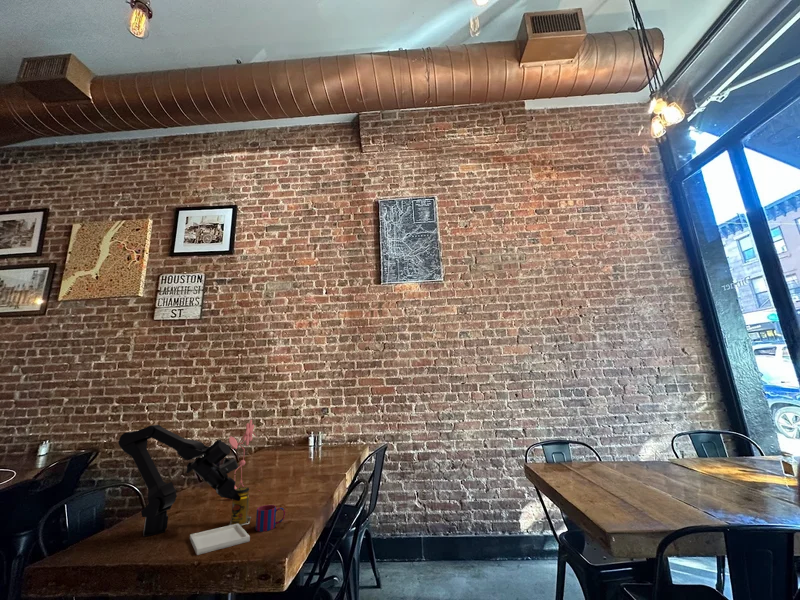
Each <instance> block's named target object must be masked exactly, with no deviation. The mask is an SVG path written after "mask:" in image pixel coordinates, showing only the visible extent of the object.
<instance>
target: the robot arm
mask: <svg viewBox="0 0 800 600" xmlns="http://www.w3.org/2000/svg"><path fill="white" fill-rule="evenodd" d="M150 439H153V440H156V441H158V442H160V443H162V444H164V445H166V446H168V447H170V448H171V449H174V451H176V452H177V454H178V456H179V457H181V458H182V459H184V461H191V460H194V459H195V460H194V461H192V462H188V463H187V465H186V474H189V473H190V472H191V471H193V472H195V473H196V474H197V475H198V476H199V477H200V478H202V480H204V482H206V483H207V484H208V485H209V486H210V487H211V488H212V489H213V490H215V492H216V494H217V495H218V496H219V497H221V498H225V499H227V498H228V499H227V500H232V501H233V500H237V501H239V500H240V499H241V498H240V496H239V494H238V493H237V491H236V490H235V486H236V480H235V481H234V478H232V477H229V476H228V474H229V473H231V472H233V471H235V470H236V469H237V468H238V467H239V465H238V461H237V459H235V458H230V459H229V458H228V457H227V456H228V455H230V453H231V449H230V448H231V447H230V446H229V444H227V443H225V442H224V441H223V440H221V439H216V441H214V442H213V444H212V445H210V446H208V445H205V444H204V443H203V442H202V441H198V440H195V439H189V438H185V437H182V436H181V435H179V434H177V433H174V432H172V431H171V430H168V429H166V428H165V427H162V426H161V425H160V424H152V425H148V426H146V427H143V428H140V429H137V430H134V431H128V432H124V433H122V434H121V435H120V437H119V439H118V445H119V448H121V450H122V451H123V452H124V453H126V455H129V456H130V457H131V458H132V460H133V462H134V464H135V465H136V468H137V470H138V472H139V473H140V476H141V478H142V480H143V481H144V484H145V486H146V488H147V490H148V492H147V505H146V506H144V507H143V509H142V510H141V512H140V513H141V517H142V518H145V519H144V520H145V521H144V527H143V530H142V533H143V535H142V536H143V537H149V536H155V535H158V534H163V533H166V529H167V528H168V522H169V521H168V520H169V515H168V511H169V510H171V508H172V506H173V505H174V503H176V499H177V497H178V496H177V489H176V488H175V486H174V483H173V482H172V481H170V482H168V483H167V482H165V481H164V480H163V478H162V476H161V474H160V472H159V470H158V468H157V467H156V465H155V462H154V460H153V459H152V456H151V455H150V452H149V450H148V449H147V448H148V440H150ZM226 457H227V458H226ZM196 458H197V459H196ZM222 460H223V462H222V464H221V465H219V466H218V465H217V464H219V463H220V462H221V461H222ZM238 469H239V468H238ZM238 469H237V470H238Z"/></svg>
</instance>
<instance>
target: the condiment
mask: <svg viewBox="0 0 800 600" xmlns="http://www.w3.org/2000/svg"><path fill="white" fill-rule="evenodd" d="M235 490H236V491H237V493H238V494H239V496H240V498H241V499H240V500H239V501H237V500H233V499H232V506H231V518H230V522H229V524H228V526H229V525H234V524H239V525H240V526H244V525H249V524H250V523H251V519H252V516H249V514H250V513H249V510H250V493H249V492H250V488H249V487H247V486H246V487H245V486H244V487H243V486H242V487H239V488H238V487H237V489H235ZM247 522H248V523H247Z"/></svg>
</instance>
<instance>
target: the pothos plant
mask: <svg viewBox="0 0 800 600" xmlns="http://www.w3.org/2000/svg"><path fill="white" fill-rule="evenodd" d="M254 428H255V424H254V423H253V419H250V420H249V422H247V423H246V425H245V433H244V434H243V436H242V437H241V439H240V440H239V442H238V441H237V439H236V438H235V437H234V436H232V435H229V438H228V443H229V444H230V446H231V449H232V451H233V450H234V449H235V450H237V449H238V446H239V447H240V448H241V449H242V450H243V456H242V457H243V458H242V460H239V465H238V468H237V469H234V473H236V471H238V469H239V468H240V478H241V479H240V480H239V484H238V486H236V485H235V489H237V488H240V486H242V487H245V485H244V484H243V469H242V467H243V466H245V465H246V460H245V453H246V449H245V448H244V447H243V446H242V445H243V444H244V442H245V446H246V447H247V446H249V444H250V442H252V441H253V435H254V436H255V438H256V439H258V438H259V437H258V436H257V435H256V433H255V432H254ZM233 480H234V481H235V482H236V476H234V477H233ZM258 491H259V492H261V493H263V491H261V490H260V489H258ZM256 498H257V496H255V497H254V499H256ZM226 500H229V499H228V498H226ZM222 503H223V504H224V503H225V502H224V501H222Z"/></svg>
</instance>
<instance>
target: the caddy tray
mask: <svg viewBox="0 0 800 600" xmlns="http://www.w3.org/2000/svg"><path fill="white" fill-rule="evenodd" d="M250 540H251V535H249V533H247V531H246V530H245V529H244V528H243V527H242V525H239V524H234V525H229V524H228V525H225V526H222V527H221V526H220V527H216V528H212V529H208V530H203V531H200V532H195V533H191V534H189V542H190V544H191V545H192V547H193V550H194V552H195V555H196V556H199V555H203V554H207V553H211V552H214V551H218V550H219V551H220V550H221V549H225V548H230V547H232V546H233V547H234V546H237V545H241V544H244V543H250Z"/></svg>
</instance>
